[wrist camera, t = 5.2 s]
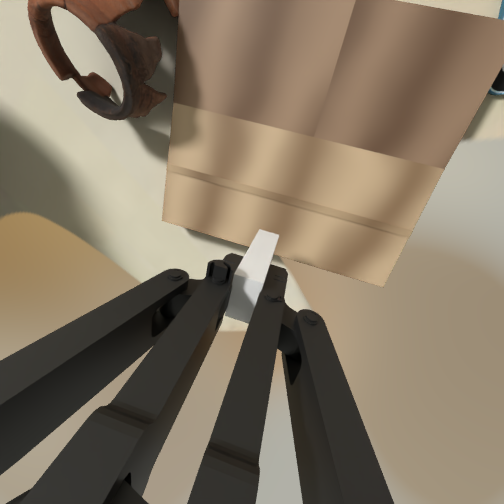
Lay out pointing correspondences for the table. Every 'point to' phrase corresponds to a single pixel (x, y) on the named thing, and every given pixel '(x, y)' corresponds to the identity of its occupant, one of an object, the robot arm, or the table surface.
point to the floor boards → (341, 70)
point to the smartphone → (500, 84)
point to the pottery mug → (117, 45)
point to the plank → (293, 192)
